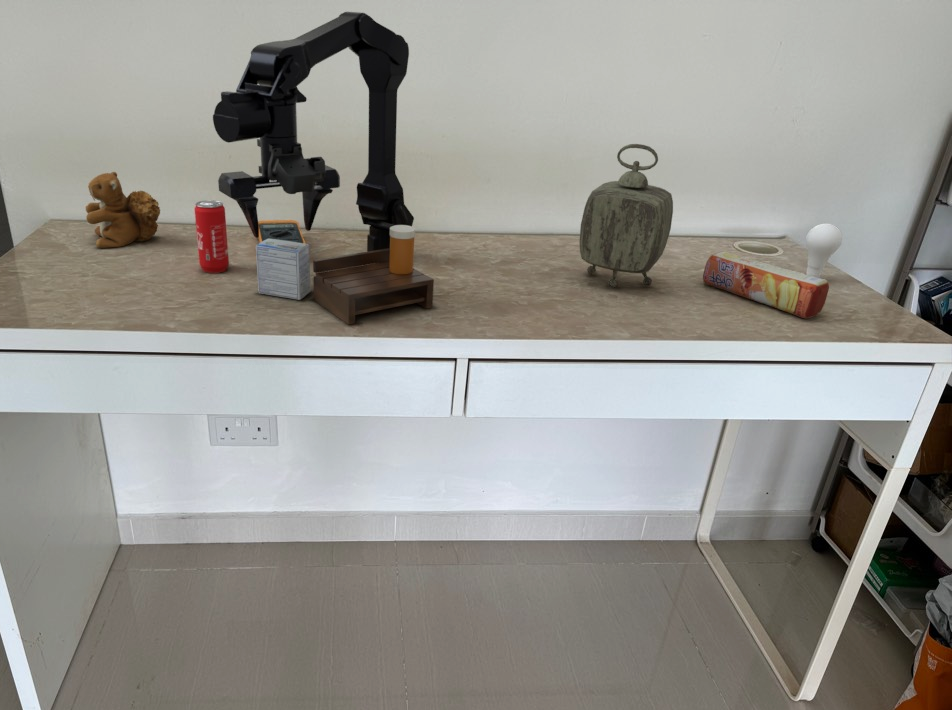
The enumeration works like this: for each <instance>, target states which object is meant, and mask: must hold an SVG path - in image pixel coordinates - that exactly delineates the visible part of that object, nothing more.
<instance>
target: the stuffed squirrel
mask: <svg viewBox="0 0 952 710" xmlns="http://www.w3.org/2000/svg"><path fill="white" fill-rule="evenodd" d="M87 187H88V191H89V195H90V196H91V197H92V199H93V202H89V203H88V204H86V205H85V211H86V213H87V214H86V221H87V223H88V224H90V225H97V224H99V225H98V226H97V227H95V228H94V233H95V235H96V236H99V238H98V239H97V240H96V243H95V246H96V247H97V248H99V249H109V248H119V247H124V246H127V245H129V244H132V243H133V242H134V241H136V242H146V241H149V240H150V239H152V238H153V236H155V235H156V233H157V232H158V227H159V225H158V223H157V221H158V219H159V217H160V215H161V207H160V206H159V201H157V200H156V198H154V197H152V195H151V194H150V193H148V192H146V191H145V190H138V191H136V190H134V191H132V192H130V193H129V194H128V196H126V194H125V193H124V192H123V187H122V184H121V182H120V179H119V178H118V173H117V172H116V171H112V172H105V173H101V174H98V175H96V176H95V177H94V178H93V179H91V180H90V181H89V182H88V186H87ZM96 200H97V201H99V202H94V201H96Z"/></svg>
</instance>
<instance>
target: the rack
mask: <svg viewBox="0 0 952 710" xmlns="http://www.w3.org/2000/svg"><path fill="white" fill-rule="evenodd" d="M389 259H390V248H388V249H381V250H375V251H369V252H367V251H363V252H356V253H350V254H343V255H337V256H331V257H330V256H329V257H325V258H318V259H317V258H316V259H313V260H312V270H313V271H312V272H313V273H315V275H314V276H313V277H312V278H313V301H314V302H316V303H317V304H318V305H320V306H322V307H323V308H324V309H326V310H327V311H329V312H330V313H332V314H333V315H334V316H336V317H337V318H338V319H339V320H341V321H343V322H344V323H345V324H347V325H349V326H351V325H354V324H356V316H357V315H363V314H366V313H367V314H368V313H371V312H376V311H382V310H388V309H392V308H396V307H401V306H406V305H412V304H418V305H419V306H421V307H423V308H425V309H431V308H433V300H434V283H435V282H434V281H435V278H433V277H430V276H429V275H427V274H425V273H423V272H421V271H420V270H417V269H415V268H414V267H413V272H412V273H409V274H395V273H392V272H390V271H389ZM385 261H387V262H385ZM379 262H381V263H379Z"/></svg>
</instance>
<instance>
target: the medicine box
mask: <svg viewBox="0 0 952 710" xmlns="http://www.w3.org/2000/svg"><path fill="white" fill-rule="evenodd" d="M255 257H256V272H257V286H258V289H257V290H258V294H260V295H267V296H272V297H280V298H285V299H287V298H288V299H291V300H298V301H301V300H302V299H303V298H305V297H306V296H307V295H308V294H310V293H311V291H312V289H311V287H312V286H311V262H310V260H311V259H310V244H308V243H306V244H304V243H297V242H291V241H284V240H277V239H266V240H264V241H262V242H261V243H260V242H259V243H257V244H256V245H255Z"/></svg>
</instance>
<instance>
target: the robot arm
mask: <svg viewBox="0 0 952 710" xmlns="http://www.w3.org/2000/svg"><path fill="white" fill-rule="evenodd" d="M409 47H410V46H409V43H408V42H407V41H406V40H405V37H403V36H402V35H401V34H397V33H395V32H394V31H393V30H392V29H389V28H387V27H386V26H385V25H382V24H380V23H379V22H377V21H375V19H374V18H372V17H371V15H368V14H367V13H365V12H361V11H359V12H358V11H344V12H342V13H340V14H339V15H338V17H335V18H333V19H331V20H330V21H327V22H326V23H324V24H321V25H319V26H317V27H315V28H314V29H311V30H309V31H307V32H305V33H303V34H301V35H299V36H297V37H295V38H292V39H286V40H275V41H274V40H273V41H269V42H265V43H260V44H257V45H255V47H253V48H252V49H251V50H250V57H249V61H248V62H247V65H246V66H245V70H244V71H243V74H242V75H241V78H240V80H239V83H238V85H237V87H236V88H235V89H236V91H228V90H227V91H220V101H219V102H217V104H216V105H215V107H214V112H213V115H212V122H213V127H214V129H215V130H214V131H216V134H217V136H218V137H219V138H220V139H221V140H222V141H223V142H225V143H228V144H229V143H236V142H241V141H243V142H244V141H248V140H249V141H250V140H254V139H256V143H257V147H259V148H260V162H261V163H260V164H261V165H258V173H259V174H261V175H256V176H252V175H250V174H248V173H246V172H244V171H242V170H241V171H230V172H229V171H228V172H221V174H220V175H219V177H218V180H217V183H218V192H220V193H222V194H223V195H225V196H227V197H229V198H230V199H232V200H234V201H235V202H236V203H237V205H238V206H239V208H240V210H241V212H242V213H243V215H244V218H245V220H246V222H247V224H248V227H249V228H250V231H251V233H252V235H253V237H254V238H256V239H259V225H258V222H259V218H258V216H259V215H258V210H257V207H258V203H259V198H258V197H257V196H254V195H255V194H256V193H257V190H260V189H268V188H269V189H270V188H279V187H281V188H282V190H283V192H285V194H288V195H296V194H297V193H302V211H303V213H302V214H303V223H304V228H305V230H306V231H307V232H310V231H311V230H312V226H313V223H314V221H315V218H316V215H317V211H318V210H319V207H320V204H321V203H322V200H323V199H324V198H325V197H326V196H328V195H329V194H332V192H333V191H334V190H333V189H338V188H341V176H340V174H339V171H338V170H337V169H336V168H335V167H334V168H333V167H331V166H329V165H327V164H326V161H325V159H324V158H323V157H322V156H312V157H309V158H304V155H303V147H302V143H300V142H299V141H298V116H297V114H298V113H297V104H298V103H301V104H302V103H306V102H307V100H308V99H307V97H306V95H304V94H303V93H302V91H300V90H299V88H298V87H299V85H301V83H303V82H304V81H305V80H306V79H307V78H308V77H309V75H310V73H311V70H312V69H313V68H314V67H315V66H316V65H317V64H319V63H321V62H323V61H325V60H327V59H329V58H331V57H333V56H334V55H336V54H338V53H340V52H341V51H344V50H346V49H349V50H350V51H351V52H352V53H353V54H354V55H356V56H357V57H358V63H359V71H360V74H361V77H362V78H363V80H364V82H365V85H366V86H367V88H368V143H367V144H368V153H367V154H368V155H367V157H368V159H367V160H368V162H367V163H368V165H367V167H368V168H367V174H366V176H365V178H364V179H363V181H362V182H357V185H356V201H355V205H357V208H358V212H359V214H360V217H361V221H362V224H363V225H365V226H366V225H367V226H369V227H368V229H369V231H368V234H367V236H366V238H367V239H366V252H369V251H375V250H381V249H388V248H390V227H392V226H395V225H407V226H412V227H413V225H414V222H415V221H414V220H415V217H414V216H413V214H412V213H411V211H410V210H409V209H408V207H407V206H406V205H405V198H404V197H405V195H404V187H403V186H402V184H401V182H400V180H399V178H398V175H397V173H396V160H397V159H396V156H397V155H396V154H397V114H398V107H397V106H398V90H399V88H400V86H401V84H402V83H403V81H404V79H405V77H406V75H407V74H408V73H407V71H408V64H409V56H410V48H409ZM385 262H387V261H385ZM379 263H381V262H379Z"/></svg>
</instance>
